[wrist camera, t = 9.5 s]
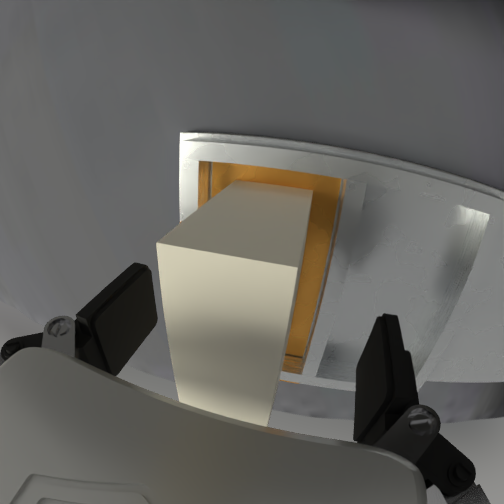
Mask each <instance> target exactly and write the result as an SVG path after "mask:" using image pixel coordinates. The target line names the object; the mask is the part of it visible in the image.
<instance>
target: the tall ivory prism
mask: <svg viewBox="0 0 504 504" xmlns="http://www.w3.org/2000/svg"><path fill="white" fill-rule="evenodd" d="M312 195H313V190H308V189H301V188H294V187H287V186H280V185H272V184H265V183H257V182H249V181H240V180H235V181H234V182H233V183H231V184H230V185H229V186H227V187H226V188H225V189H223V190H222V191H221V192H219V193H218V194H217V195H215V196H214V197H213V198H211V199H210V200H209V201H208V202H206V203H205V204H204V205H202V206H201V207H200V208H199V209H197V210H196V211H195V212H194V213H192V214H191V215H190V216H188V217H187V218H186V219H185V220H183V221H182V222H181V223H180V224H179V225H177V226H176V227H175V228H174V229H172V230H171V231H170V232H169V233H167V234H166V235H165V236H164V237H163V238H161V239H160V240H159V241H158V242H157V255H158V266H159V275H160V284H161V293H162V301H163V309H164V316H165V323H166V330H167V336H168V343H169V349H170V355H171V360H172V366H173V371H174V377H175V382H176V387H177V391H178V397H179V402H181V403H184V404H187V405H190V406H193V407H196V408H199V409H203V410H206V411H209V412H212V413H216V414H219V415H223V416H226V417H230V418H233V419H237V420H241V421H245V422H249V423H253V424H257V425H261V426H265V427H268V423H269V419H270V415H271V411H272V407H273V403H274V399H275V395H276V391H277V387H278V383H279V379H280V374H281V370H282V366H283V362H284V357H285V353H286V348H287V344H288V339H289V334H290V329H291V323H292V318H293V313H294V308H295V302H296V297H297V291H298V285H299V280H300V274H301V268H302V262H303V256H304V250H305V243H306V237H307V230H308V223H309V217H310V210H311V203H312Z"/></svg>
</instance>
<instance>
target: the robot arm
mask: <svg viewBox="0 0 504 504" xmlns="http://www.w3.org/2000/svg"><path fill="white" fill-rule="evenodd" d="M76 317H77V319H76V320H75V321H74V320H73V319H72V318H70V317H68V316H58V317H55V318H53V319H51V320H50V321H49V322H47V324H46V325H45V327H44V332H42V333H38V334H32V335H27V336H22V337H17V338H13V339H11V340H9V341H7V342H6V343H5V344H4V345H3V347H2V349H1V352H0V504H490V502H489V500H488V498H487V497H486V495H485V493H484V492H483V490H482V488H481V486H480V484H479V485H477V486H476V484H475V483H474V480H475V475H476V472H475V467H474V465H473V463H472V462H471V461H470V460H469V459H468V458H467V457H466V456H465V455H464V454H463V453H461V452H460V451H459V450H458V449H457V448H456V447H454V446H453V445H452V444H451V443H450V442H449V441H448V440H446V439H445V438H444V437H443V436H442V435H441V434H439V430H440V424H441V423H440V418H439V416H438V415H437V413H436V412H435V411H434V410H433V409H432V408H430V407H428V406H425V405H419V399H418V392H417V386H416V379H415V374H414V368H413V362H412V357H411V353H410V352H409V351H408V350H405V349H404V343H403V338H402V333H401V328H400V324H399V319H398V316H397V315H392V314H386V313H383V315H382V316H378V317H377V318H376V321H375V323H374V326H373V328H372V331H371V333H370V336H369V338H368V341H367V343H366V345H365V348H364V350H363V352H362V354H361V357H360V359H359V361H358V364H357V367H356V392H355V418H354V435H353V440H354V441H357V443H354V442H348V441H342V440H335V439H329V438H322V437H316V436H310V435H305V434H299V433H294V432H289V431H284V430H279V429H274V428H270V427H265V426H261V425H257V424H253V423H249V422H245V421H241V420H237V419H233V418H230V417H226V416H223V415H219V414H216V413H212V412H209V411H206V410H203V409H199V408H196V407H193V406H190V405H187V404H184V403H181V402H178V401H175V400H173V399H170V398H167V397H165V396H162V395H159V394H157V393H154V392H151V391H149V390H146V389H144V388H141V387H139V386H136V385H134V384H131V383H129V382H127V381H125V380H122V379H120V378H118V377H116V375H118V374H119V372H120V371H121V370H122V368H123V367H124V366H125V364H126V363H127V362H128V360H129V359H130V358H131V356H132V355H133V354H134V353H135V351H136V350H137V349H138V347H139V346H140V345H141V343H142V342H143V341H144V340H145V338H146V337H147V336H148V334H149V333H150V332H151V331H152V329H153V328H154V327H155V325H156V323H157V319H158V318H157V311H156V304H155V297H154V290H153V282H152V273H151V270H150V269H149V268H148V266H147V265H144V264H140V263H133V264H132V265H131V266H129V267H128V268H127V269H126V270H125V271H124V272H123V273H121V274H120V275H119V276H118V277H117V278H116V279H115V280H113V281H112V282H111V283H110V284H109V285H108V286H107V287H105V288H104V289H103V290H102V291H101V292H100V293H99V294H98V295H97V296H96V297H94V298H93V299H92V300H91V301H90V302H89V303H88V304H87V305H86V306H85V307H84V308H82V309H81V310H80V311H79V312H78V313H77V314H76Z"/></svg>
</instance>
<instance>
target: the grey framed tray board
mask: <svg viewBox="0 0 504 504" xmlns="http://www.w3.org/2000/svg"><path fill="white" fill-rule="evenodd" d="M235 180H240V181H249V182H257V183H265V184H272V185H280V186H287V187H294V188H301V189H308V190H313V195H312V203H311V210H310V217H309V223H308V230H307V237H306V243H305V250H304V256H303V262H302V268H301V274H300V280H299V285H298V291H297V297H296V302H295V308H294V313H293V318H292V323H291V329H290V334H289V339H288V344H287V348H286V353H285V357H284V362H283V366H282V370H281V374H280V379H279V380H281V381H286V382H291V383H297V384H299V383H301V384H307V385H313V386H320V387H326V388H333V389H341V390H348V391H356V367H357V364H358V361H359V359H360V357H361V354H362V352H363V350H364V348H365V345H366V343H367V341H368V338H369V336H370V333H371V331H372V328H373V326H374V323H375V321H376V318H377V317H378V316H382V315H383V313H386V314H392V315H397V316H398V319H399V324H400V328H401V333H402V338H403V343H404V349H405V350H408V351H409V352H410V353H411V357H412V362H413V368H414V374H415V379H416V386H417V392H418V391H419V389H420V388H421V387H422V385H423V384H424V382H425V381H438V382H504V191H503V190H500V189H497V188H494V187H492V186H489V185H486V184H483V183H480V182H477V181H474V180H471V179H468V178H465V177H462V176H459V175H456V174H453V173H449V172H446V171H443V170H439V169H436V168H432V167H428V166H425V165H421V164H417V163H413V162H409V161H405V160H401V159H397V158H393V157H388V156H384V155H379V154H375V153H370V152H365V151H360V150H355V149H349V148H344V147H338V146H332V145H326V144H320V143H313V142H306V141H299V140H292V139H283V138H275V137H265V136H255V135H244V134H230V133H214V132H189V131H187V132H181V133H180V176H179V185H180V223H181V222H182V221H183V220H185V219H186V218H187V217H188V216H190V215H191V214H192V213H194V212H195V211H196V210H197V209H199V208H200V207H201V206H202V205H204V204H205V203H206V202H208V201H209V200H210V199H211V198H213V197H214V196H215V195H217V194H218V193H219V192H221V191H222V190H223V189H225V188H226V187H227V186H229V185H230V184H231V183H233V182H234V181H235Z"/></svg>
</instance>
